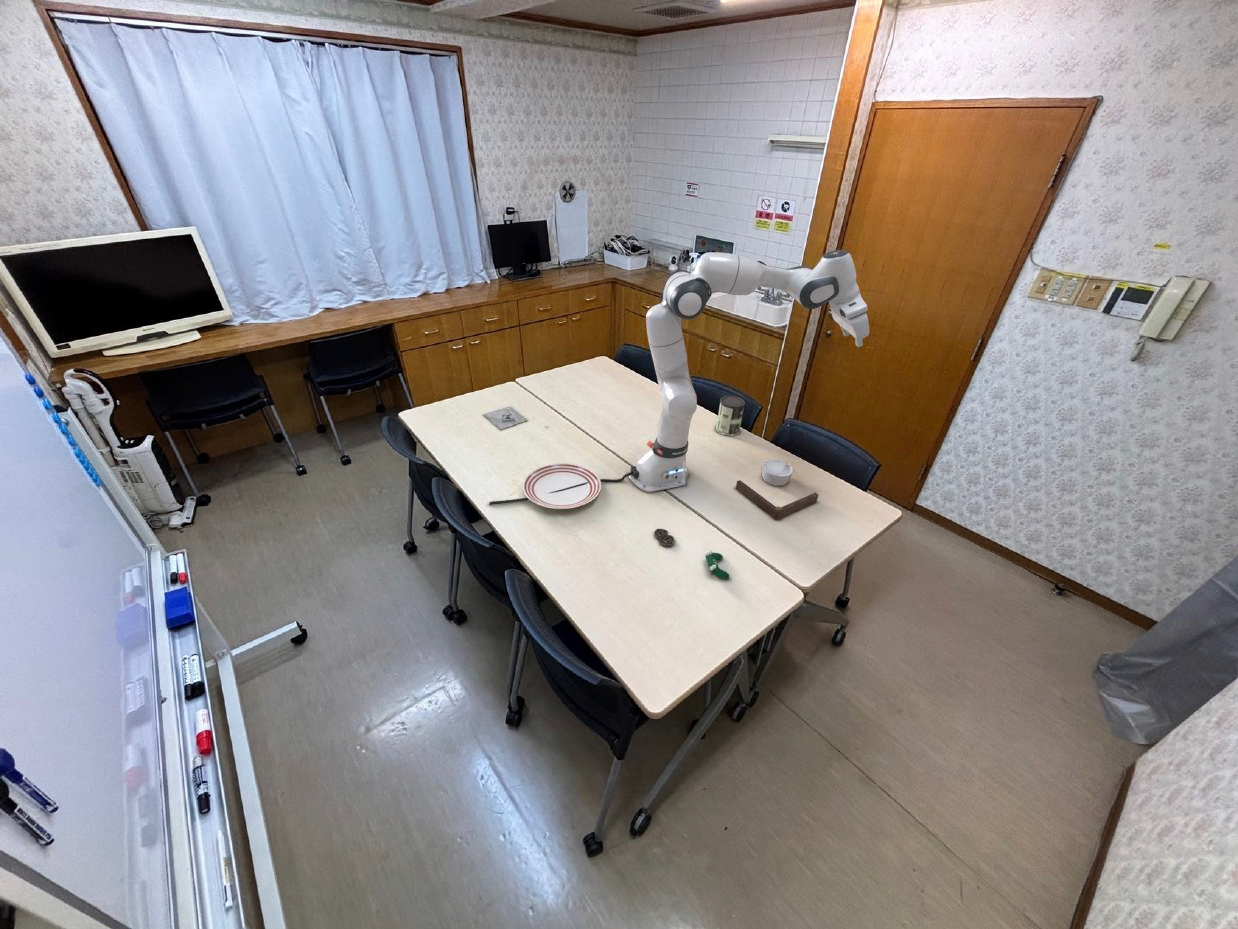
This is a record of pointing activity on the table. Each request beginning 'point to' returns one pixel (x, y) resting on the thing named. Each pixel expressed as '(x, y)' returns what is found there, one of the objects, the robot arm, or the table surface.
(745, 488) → the corner guard
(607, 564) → the table surface
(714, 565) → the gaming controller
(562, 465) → the plate
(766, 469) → the ramekin
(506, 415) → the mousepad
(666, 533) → the corroded twin loop
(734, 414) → the coffee can
